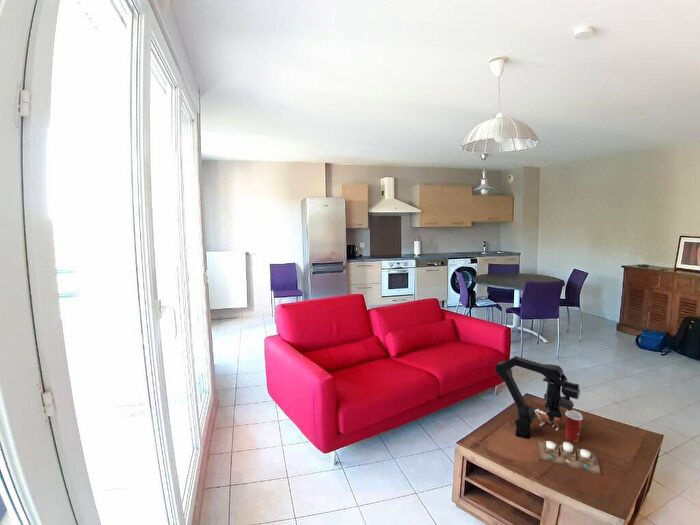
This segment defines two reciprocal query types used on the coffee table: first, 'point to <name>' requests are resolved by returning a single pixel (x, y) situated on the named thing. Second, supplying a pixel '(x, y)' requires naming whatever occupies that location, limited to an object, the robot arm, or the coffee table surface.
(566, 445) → the button mid
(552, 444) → the button left
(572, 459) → the board
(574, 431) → the paper cup
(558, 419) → the bull figurine
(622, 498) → the coffee table surface
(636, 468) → the coffee table surface
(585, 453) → the button right
